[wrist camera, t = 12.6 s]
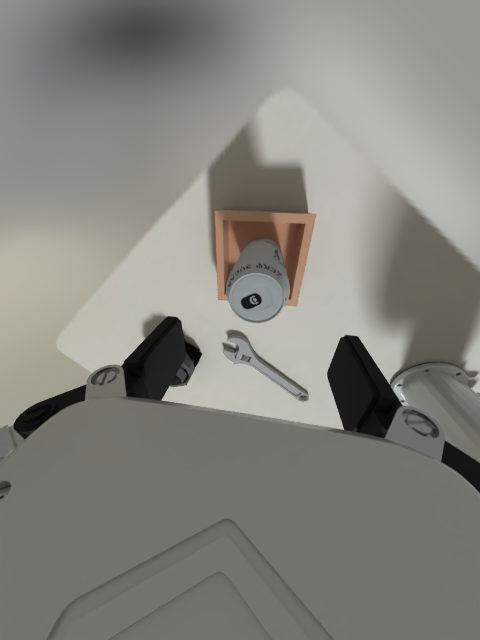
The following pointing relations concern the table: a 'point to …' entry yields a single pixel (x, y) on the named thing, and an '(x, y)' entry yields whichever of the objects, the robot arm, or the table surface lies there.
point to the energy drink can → (258, 282)
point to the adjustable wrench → (261, 366)
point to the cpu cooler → (187, 366)
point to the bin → (279, 226)
